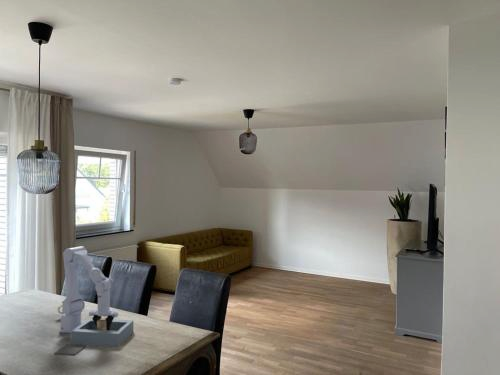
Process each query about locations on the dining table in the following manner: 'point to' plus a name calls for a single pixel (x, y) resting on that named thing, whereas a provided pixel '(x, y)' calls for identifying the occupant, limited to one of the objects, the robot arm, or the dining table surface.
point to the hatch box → (102, 333)
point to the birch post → (102, 324)
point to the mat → (70, 349)
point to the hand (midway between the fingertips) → (103, 330)
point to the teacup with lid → (62, 309)
